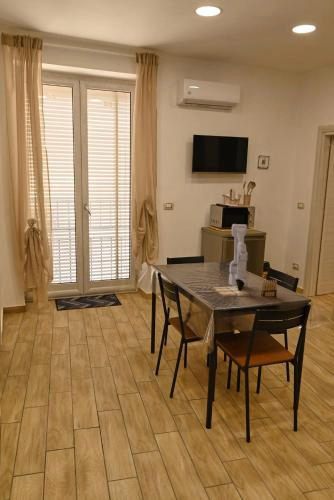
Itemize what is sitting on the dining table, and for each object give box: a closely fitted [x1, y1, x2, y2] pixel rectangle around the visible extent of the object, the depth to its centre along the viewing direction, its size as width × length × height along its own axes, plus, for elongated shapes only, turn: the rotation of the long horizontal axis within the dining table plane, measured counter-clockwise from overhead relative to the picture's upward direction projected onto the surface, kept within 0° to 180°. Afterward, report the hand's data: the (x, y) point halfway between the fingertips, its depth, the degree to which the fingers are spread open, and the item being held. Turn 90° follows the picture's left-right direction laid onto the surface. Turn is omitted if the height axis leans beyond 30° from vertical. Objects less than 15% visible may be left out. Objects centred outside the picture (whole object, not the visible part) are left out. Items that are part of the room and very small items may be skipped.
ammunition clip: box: [260, 279, 278, 298], centre depth 260 cm, size 11×2×12 cm, turn 109°
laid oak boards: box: [212, 286, 238, 298], centre depth 264 cm, size 18×9×2 cm, turn 15°
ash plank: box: [226, 286, 250, 297], centre depth 266 cm, size 18×8×2 cm, turn 15°
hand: (239, 290), depth 266 cm, fingers closed, pressing on ash plank
